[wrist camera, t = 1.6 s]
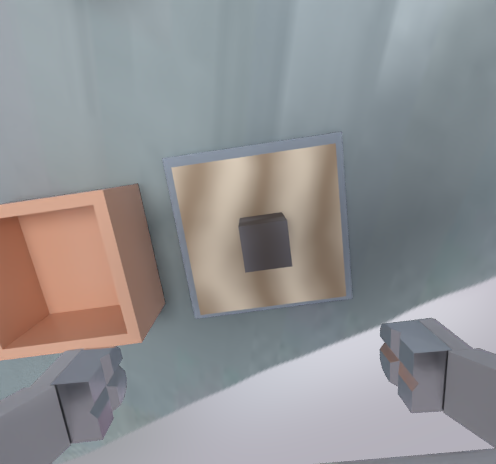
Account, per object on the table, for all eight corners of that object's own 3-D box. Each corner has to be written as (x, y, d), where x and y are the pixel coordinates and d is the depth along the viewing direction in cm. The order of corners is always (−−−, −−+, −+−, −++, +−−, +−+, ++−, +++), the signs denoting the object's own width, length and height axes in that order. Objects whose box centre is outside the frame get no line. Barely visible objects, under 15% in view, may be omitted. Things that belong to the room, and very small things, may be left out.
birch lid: (331, 144, 27) (351, 139, 22) (342, 291, 30) (361, 316, 25) (174, 167, 27) (157, 168, 22) (202, 309, 31) (193, 337, 26)
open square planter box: (138, 183, 28) (102, 189, 21) (165, 303, 31) (142, 342, 24) (10, 202, 29) (-64, 214, 22) (49, 318, 32) (-5, 361, 25)
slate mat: (340, 132, 27) (341, 131, 27) (350, 296, 31) (352, 298, 30) (163, 158, 28) (162, 158, 27) (195, 316, 31) (195, 318, 31)
